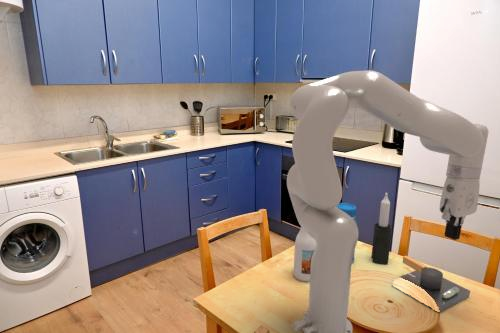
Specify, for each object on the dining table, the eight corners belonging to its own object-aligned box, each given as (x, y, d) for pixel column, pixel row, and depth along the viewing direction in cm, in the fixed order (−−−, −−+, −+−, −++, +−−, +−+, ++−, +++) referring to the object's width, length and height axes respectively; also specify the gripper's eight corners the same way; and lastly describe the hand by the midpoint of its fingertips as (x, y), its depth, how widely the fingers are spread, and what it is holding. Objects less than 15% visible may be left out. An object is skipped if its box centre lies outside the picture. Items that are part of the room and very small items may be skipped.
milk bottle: (291, 279, 109) (293, 220, 104) (295, 267, 116) (298, 211, 111) (316, 284, 107) (319, 223, 102) (318, 271, 114) (322, 214, 109)
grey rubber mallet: (445, 287, 102) (447, 273, 101) (432, 291, 99) (434, 277, 98) (409, 266, 113) (411, 254, 112) (397, 270, 111) (398, 257, 110)
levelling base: (438, 313, 94) (440, 300, 93) (391, 285, 106) (392, 274, 105) (469, 296, 101) (471, 285, 100) (422, 273, 113) (423, 262, 113)
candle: (388, 265, 118) (396, 195, 113) (372, 263, 119) (379, 194, 114) (385, 258, 123) (393, 191, 117) (370, 256, 124) (377, 190, 118)
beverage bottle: (354, 267, 117) (359, 211, 112) (328, 263, 119) (332, 208, 115) (354, 256, 124) (359, 203, 120) (330, 252, 127) (334, 200, 122)
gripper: (461, 178, 82) (449, 248, 87) (494, 172, 90) (481, 237, 94) (432, 171, 89) (421, 237, 93) (464, 166, 96) (453, 228, 100)
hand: (451, 237), depth 93 cm, fingers closed
